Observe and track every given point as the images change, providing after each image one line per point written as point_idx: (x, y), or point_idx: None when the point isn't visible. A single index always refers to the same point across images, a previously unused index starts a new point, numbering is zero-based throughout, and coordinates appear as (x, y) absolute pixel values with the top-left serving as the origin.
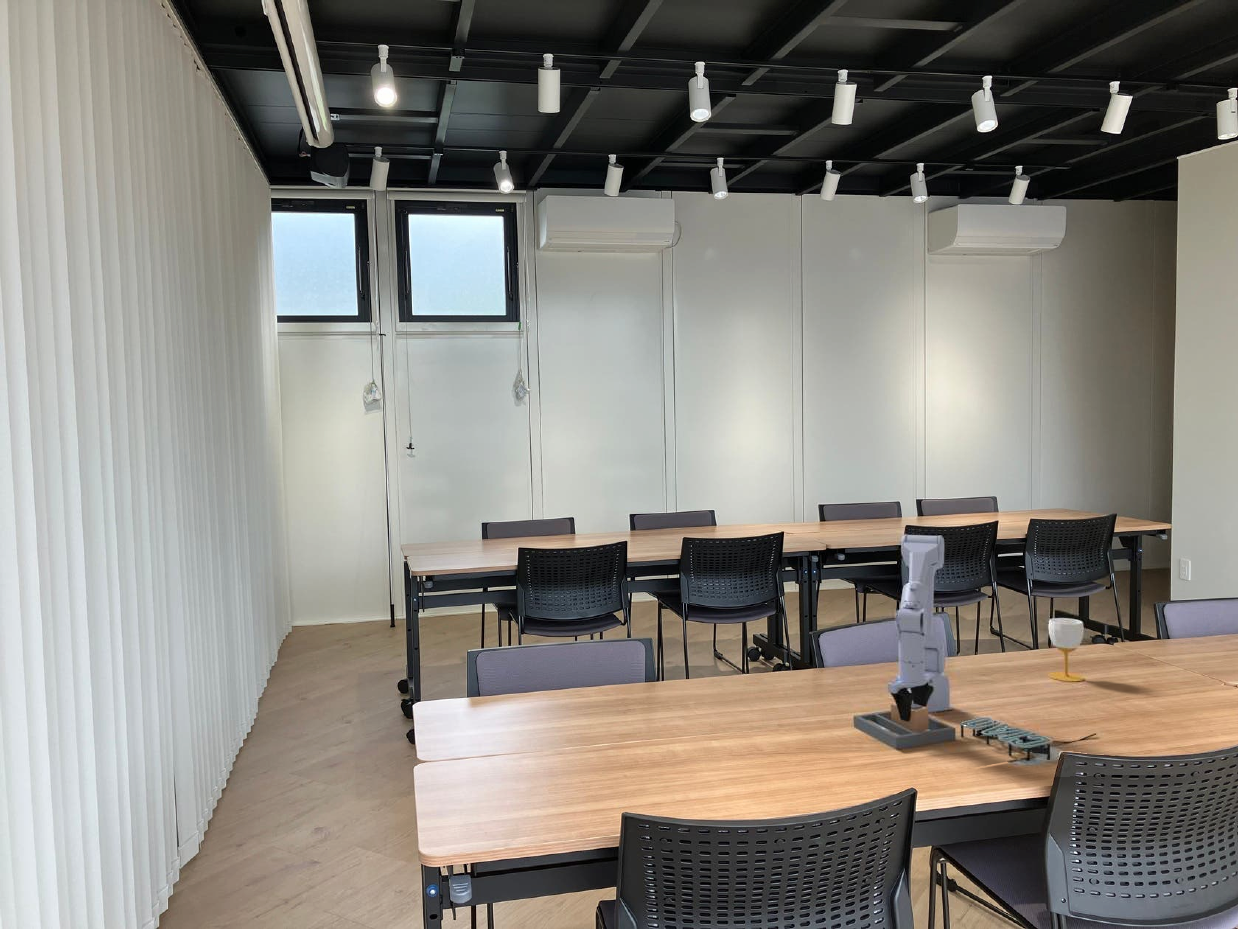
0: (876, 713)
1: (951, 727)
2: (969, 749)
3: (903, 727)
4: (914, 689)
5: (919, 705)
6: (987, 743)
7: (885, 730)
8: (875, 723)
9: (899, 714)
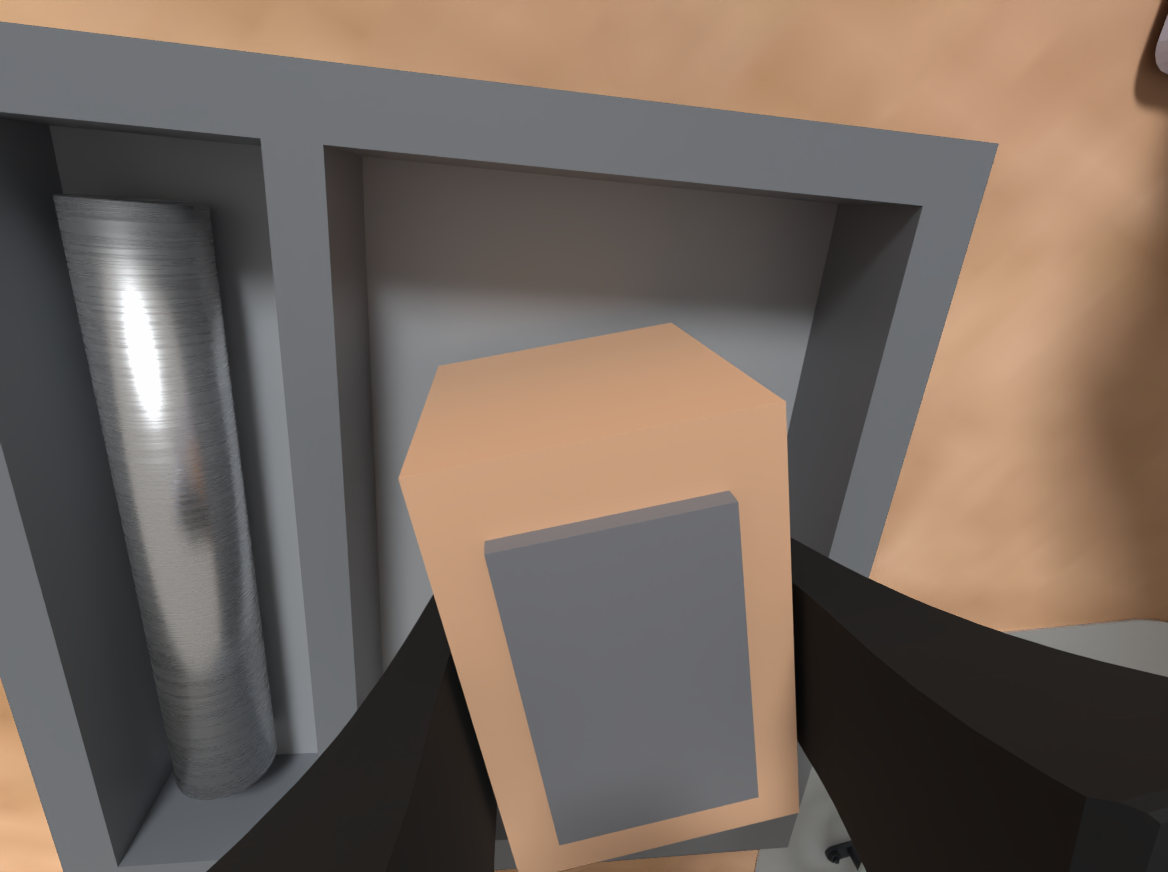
0: (328, 114)
1: (778, 827)
2: (702, 859)
3: (346, 713)
4: (996, 857)
5: (745, 764)
6: (855, 864)
7: (64, 728)
8: (130, 398)
9: (415, 626)
